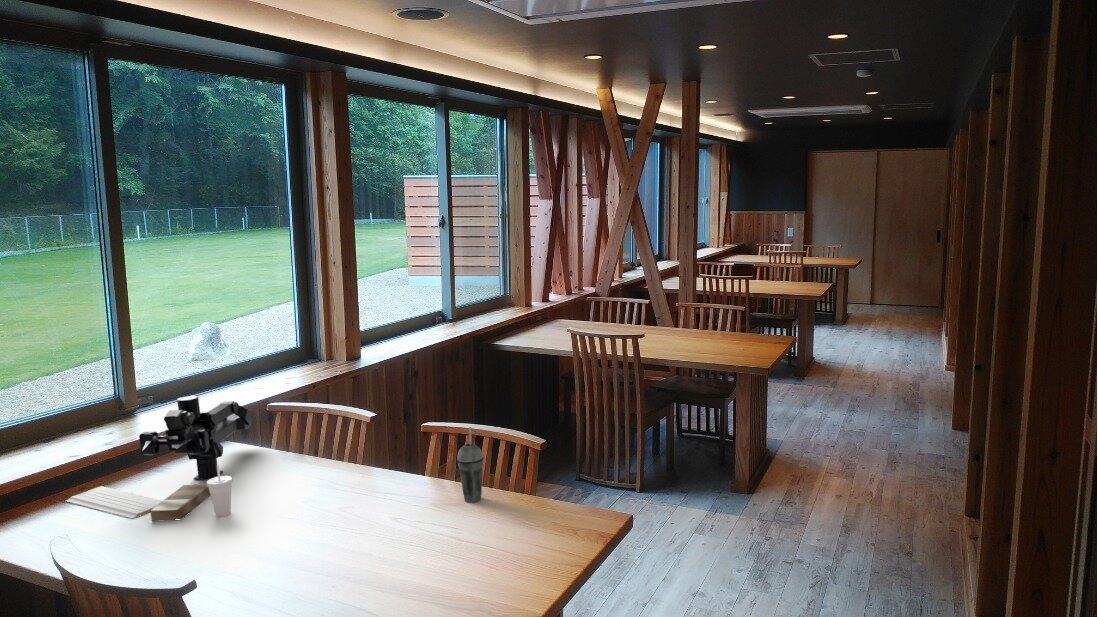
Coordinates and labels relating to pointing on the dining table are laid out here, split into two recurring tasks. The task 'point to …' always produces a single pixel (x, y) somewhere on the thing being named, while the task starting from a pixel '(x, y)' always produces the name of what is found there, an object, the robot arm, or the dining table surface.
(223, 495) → the smoothie
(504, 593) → the dining table surface
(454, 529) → the dining table surface
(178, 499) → the beam
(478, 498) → the beverage cup
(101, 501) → the baseboard molding
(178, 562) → the dining table surface
